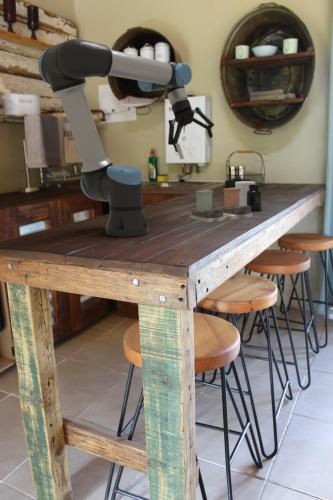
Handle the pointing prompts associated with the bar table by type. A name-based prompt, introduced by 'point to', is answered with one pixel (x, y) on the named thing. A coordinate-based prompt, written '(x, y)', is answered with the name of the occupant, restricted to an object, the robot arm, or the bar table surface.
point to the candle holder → (243, 191)
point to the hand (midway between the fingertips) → (197, 152)
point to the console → (222, 214)
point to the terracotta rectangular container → (231, 197)
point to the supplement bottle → (254, 197)
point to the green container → (204, 200)
